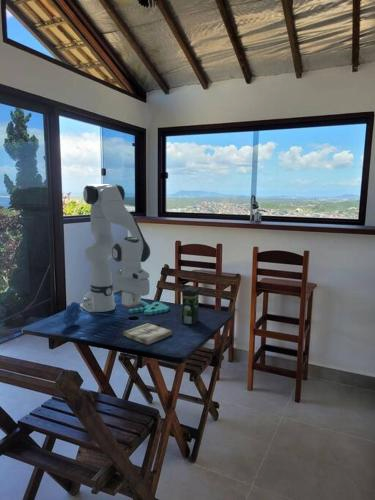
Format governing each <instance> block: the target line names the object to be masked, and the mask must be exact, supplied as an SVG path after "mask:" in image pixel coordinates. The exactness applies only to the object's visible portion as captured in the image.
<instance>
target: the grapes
mask: <svg viewBox="0 0 375 500" xmlns="http://www.w3.org/2000/svg"><path fill="white" fill-rule="evenodd" d="M80 304H81V303H79V302H76V301H72V302H71V303H70V304H68V305H67V306H66V309H65V311H64V312H63V314H62V316H63V320H62V323H63V324H65V326H66V328H69V327H70V326H71V327H72V326H75V325H76V322H77V321H79V319H80V314H81V312H82V308H81V307H80Z"/></svg>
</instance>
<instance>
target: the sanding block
mask: <svg viewBox="0 0 375 500" xmlns="http://www.w3.org/2000/svg"><path fill="white" fill-rule="evenodd" d="M133 299H135V294H134V293H130V292H127V291H126V292H123V291H122V292H121V306H124V307H126V308H127V307H128V308H131V307H134V306H137V305H141V301H142V296H141V295H140V297H139V298H138V303H134V302H133Z"/></svg>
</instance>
